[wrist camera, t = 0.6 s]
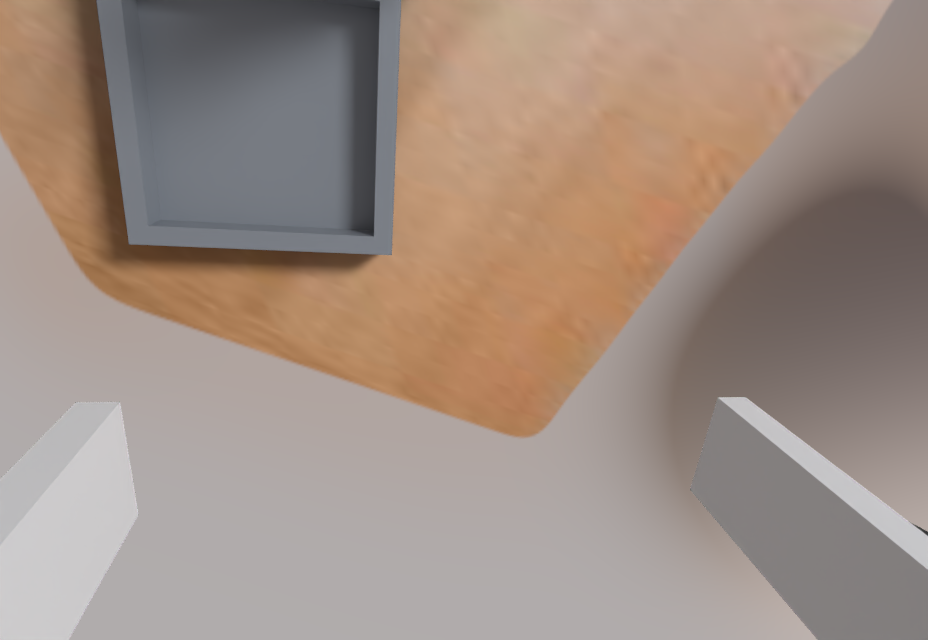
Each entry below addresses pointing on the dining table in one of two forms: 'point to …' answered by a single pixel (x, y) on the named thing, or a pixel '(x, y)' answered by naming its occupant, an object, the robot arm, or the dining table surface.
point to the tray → (255, 121)
